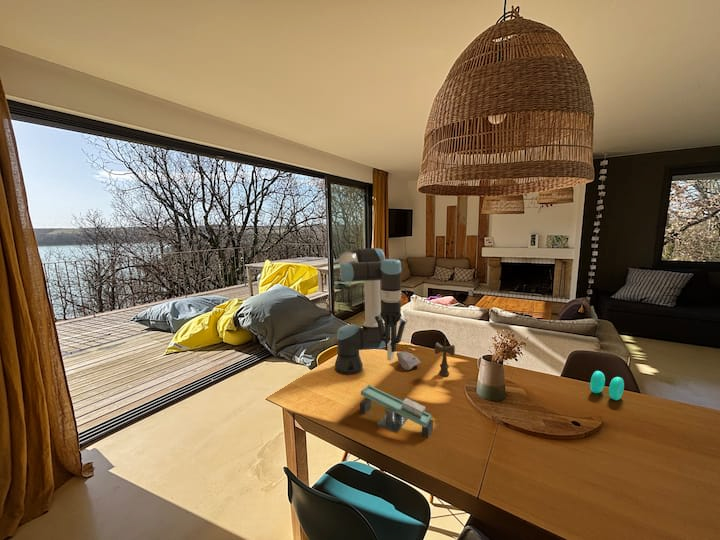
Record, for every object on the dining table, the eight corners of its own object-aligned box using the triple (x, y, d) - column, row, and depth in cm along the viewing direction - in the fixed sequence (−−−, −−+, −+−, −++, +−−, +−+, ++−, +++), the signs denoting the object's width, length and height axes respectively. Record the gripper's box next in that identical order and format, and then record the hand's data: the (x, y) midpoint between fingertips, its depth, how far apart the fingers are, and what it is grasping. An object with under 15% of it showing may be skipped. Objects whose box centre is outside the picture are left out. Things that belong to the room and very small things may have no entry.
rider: (404, 405, 118) (406, 397, 117) (424, 415, 114) (425, 407, 113) (401, 410, 115) (402, 402, 114) (420, 419, 111) (422, 411, 110)
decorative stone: (422, 368, 163) (422, 357, 162) (408, 372, 159) (408, 361, 158) (407, 358, 175) (407, 349, 174) (393, 362, 171) (393, 352, 170)
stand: (371, 401, 132) (370, 386, 131) (436, 424, 116) (436, 407, 116) (354, 417, 122) (354, 401, 121) (424, 444, 106) (424, 426, 105)
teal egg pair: (616, 404, 127) (619, 382, 126) (588, 394, 135) (590, 373, 134) (623, 396, 133) (626, 375, 132) (596, 387, 141) (598, 367, 140)
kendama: (435, 370, 160) (436, 334, 157) (454, 373, 156) (455, 336, 153) (433, 375, 155) (434, 338, 152) (453, 378, 151) (454, 340, 148)
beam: (368, 387, 128) (369, 384, 128) (431, 418, 114) (432, 414, 113) (360, 395, 123) (360, 391, 122) (425, 428, 108) (425, 424, 108)
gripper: (371, 300, 114) (371, 358, 118) (402, 304, 108) (402, 366, 111) (380, 296, 121) (380, 351, 124) (410, 300, 114) (409, 358, 118)
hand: (390, 358), depth 118 cm, fingers closed
